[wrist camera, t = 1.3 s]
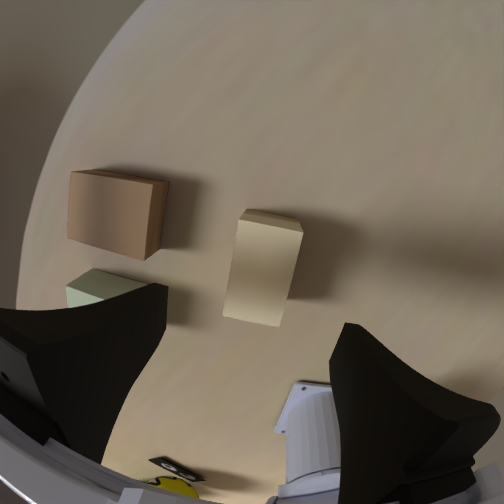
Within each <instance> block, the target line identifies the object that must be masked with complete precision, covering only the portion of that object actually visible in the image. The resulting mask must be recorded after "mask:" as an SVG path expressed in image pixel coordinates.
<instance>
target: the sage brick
mask: <svg viewBox="0 0 504 504" xmlns="http://www.w3.org/2000/svg"><path fill="white" fill-rule="evenodd" d="M145 285H148V284H145V283H141V282H137V281H134V280H130V279H127V278H123V277H120V276H116V275H113V274H109V273H106V272H103V271H99V270H96V269H93V268H92V269H91V270H89V271H88V272H86V273H84V274H83V275H81V276H80V277H78V278H77V279H75V280H74V281H72V282H70V283H69V284H67V285H66V293H67V302H68V308H72V307H78V306H83V305H88V304H92V303H96V302H99V301H102V300H105V299H109V298H112V297H115V296H118V295H121V294H124V293H126V292H129V291H132V290H134V289H137V288H140V287H143V286H145Z"/></svg>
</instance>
